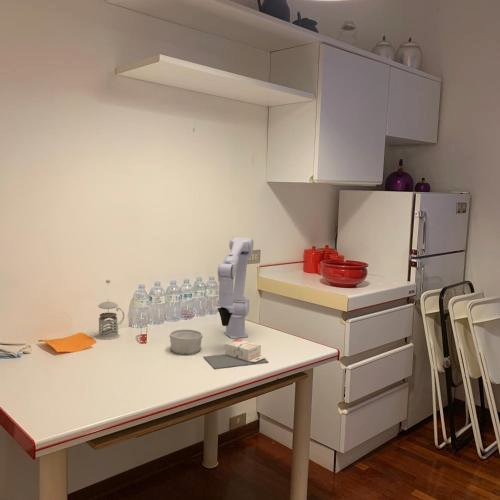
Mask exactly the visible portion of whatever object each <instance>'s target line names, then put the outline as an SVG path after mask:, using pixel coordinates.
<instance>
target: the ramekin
mask: <svg viewBox="0 0 500 500" xmlns="http://www.w3.org/2000/svg"><path fill="white" fill-rule="evenodd" d="M169 340H170V348H171V351H172V352H174V353H175V354H179V355H194V354H196V353H199V351H200V350H201V346H202V340H203V332H201V331H200V330H195V329H191V328H190V329H189V328H187V329H186V328H183V329H182V328H181V329H175V330H172V331H170V332H169Z"/></svg>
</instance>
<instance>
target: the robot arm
mask: <svg viewBox="0 0 500 500" xmlns="http://www.w3.org/2000/svg"><path fill="white" fill-rule="evenodd" d="M229 250H230V252H229V253H228V254H227V253H226V255H225V257H224V259H223V262H222V263H220V264H218V267H217V278H218V280H217V281H218V282H219V284H218V285H219V286H218V288H219V289H218V299H216V300H217V301H216V304H215V307H217V311H218V314H219V316H220V321H221V325H222V327H226V329H225V331H223V333H224V334H225V335H226V336H228V337H229V338H231V339H242V338H248V337H249V336H248V335H247V334H246V333H245V332H246V331H245V330H246V329H245V328H246V317H247V316H248V315H249V313H250V299H249V298H248V297H247V296H246V295H245V287H246V275H247V267H248V261H249V259H250V258H252V256H253V252H254V240H253V238H252V237H236V236H235V237H234V236H231V237H230V240H229Z"/></svg>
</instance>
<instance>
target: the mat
mask: <svg viewBox="0 0 500 500" xmlns="http://www.w3.org/2000/svg"><path fill="white" fill-rule="evenodd" d="M260 356H262V355H261V354H260ZM203 359H204V360H205V361H206V362H207V363H208V364H209V365H210V366H211V367H212V368H213V369H214V370H221V369H228V368H235V367H245V366H252V365H259V364H260V365H263V364H268V363H270V362H269V360H267V359H266V358H264V359H262V360H259V361H257V362H250V361H246V360H242V359H239V358H235V357H232V356H228V355H225V353H223V354H213V355H204V356H203ZM259 359H260V358H259ZM256 360H257V359H256Z"/></svg>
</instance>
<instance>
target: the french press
mask: <svg viewBox="0 0 500 500" xmlns="http://www.w3.org/2000/svg"><path fill="white" fill-rule="evenodd" d="M105 283H106V284H111V280H110V279H106V280H105ZM98 308H99V309H103V310H111V309H116V312H119V311H121V312H122V315H125V313H124V311H123V310H122V309H121V308H120V307H119V306H118V303H116V302H114V301H109V300H107V301H105V302H101V303H100V304H98ZM117 315H118V314H117V313H115V312H102V313H100V314H99V317H98V334H97V335H96V336H95V337H96V339H98V340H101V341H113V340H116V339H119V338H120V334H119V325H121V324H122V323H123V322H124V320H125V316H122V318H121V320H120V321H119V322H118V316H117Z"/></svg>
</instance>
